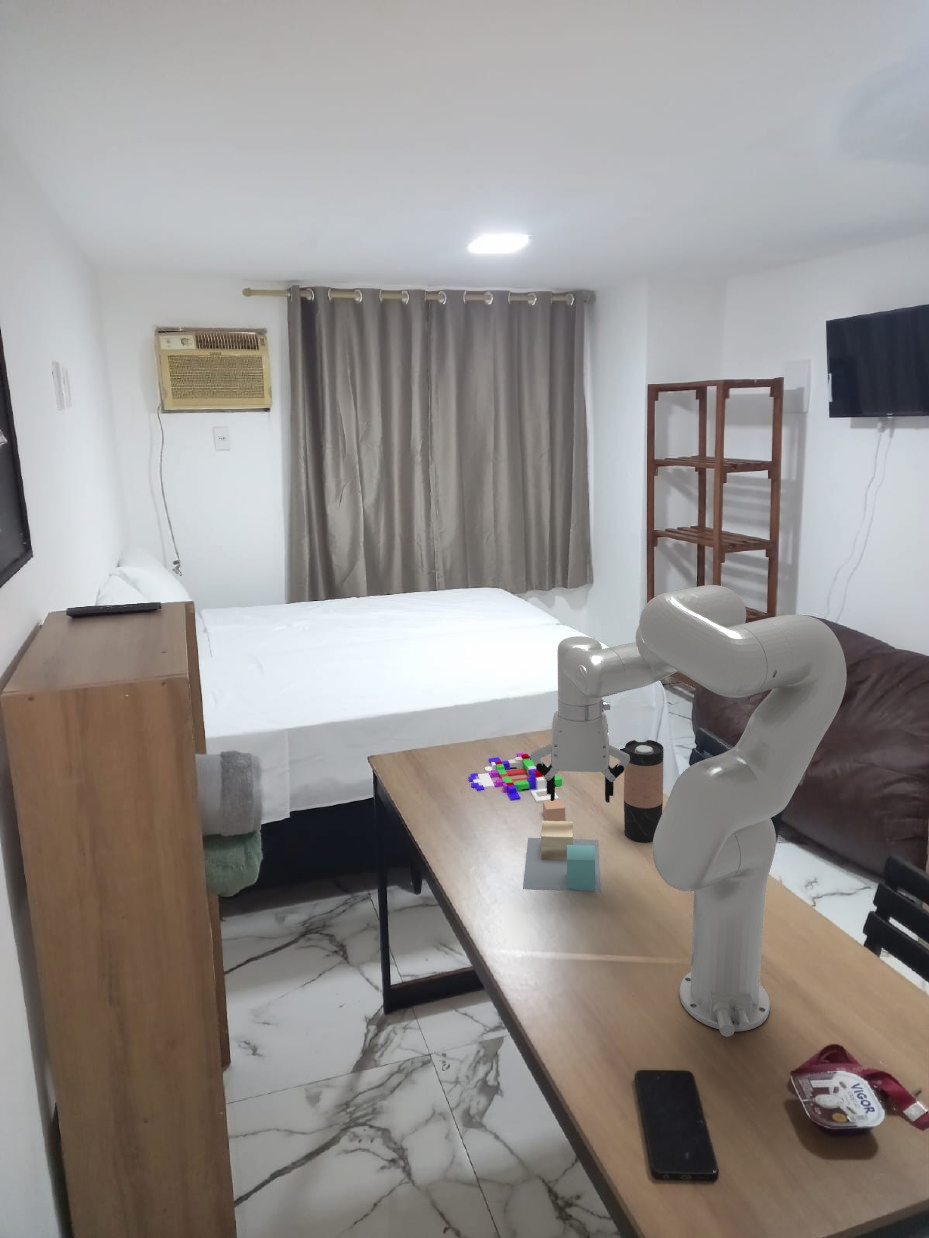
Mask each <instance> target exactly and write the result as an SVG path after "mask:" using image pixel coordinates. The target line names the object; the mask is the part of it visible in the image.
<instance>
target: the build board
mask: <svg viewBox="0 0 929 1238" xmlns="http://www.w3.org/2000/svg"><path fill="white" fill-rule="evenodd" d="M573 845H591V846H595V890H580V889H567V860H541V837H528V838H527V846H526V855H525V864H524V874H523V883H522V884H523V885H522V890H538V891H560V892H561V891H564V892H585V893H586V892H589V893H602V887H601V885H602V884H601V869H600V868H601V867H600V866H601V865H600V853H599V852H600V850H599V840H598V839H582V838H573Z"/></svg>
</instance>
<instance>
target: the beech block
mask: <svg viewBox="0 0 929 1238" xmlns="http://www.w3.org/2000/svg"><path fill="white" fill-rule="evenodd" d="M573 823H574V822H573V821H566V820H565V821H546V820H541V833H540V838H541V860H567V845H573V839H574V834H573V833H574V832H573V831H574V829H573Z"/></svg>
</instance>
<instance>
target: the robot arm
mask: <svg viewBox="0 0 929 1238" xmlns="http://www.w3.org/2000/svg"><path fill="white" fill-rule="evenodd" d="M746 621H747V608H746V606H745V603H744V601H743V599H742V598H741V597H740V595H739V594H737V592H735V591H734V590H732V589H730V588H728V587H726V586H722V585H719V584H718V585H717V584H716V585H715V584H707V585H700V586H695V587H689V588H684V589H679V590H674V591H669V592H664V593H661V594H659V595H656V596H654V597H653V598H651V599H650V600H649V601H648V602H647V603H646V604H645V606H644V608H643V609H642V611H641V613H640V617H639V623H638V624H639V625H638V626H637V629H636V631H635V641H634V642H633V641H632V642H630V643H625V644H619V645H615V646H609V647H606V648H603V647H602V645H601V642H599V640H597V639H596V638H593V637H590V636H582V635H578V636H570V637H566V638H564V639H562V640H561V641H560V642H559V643H558V646H557V711H555V712H554V713H553V718H552V723H551V735H550V737H551V738H550V743H549V744H547V745H545V746H543V747H540V748H538V749H537V750H534V751H532V752H530V755H529V756H530V758H531V760H532V762H533V763H534V765H535V767H536V769H537V770H538V771H539V772H540V773H541V774H542V775H543V776H544V777H545V779H546V780H547V788H546V789H547V793H546V795H551V801H554V800H555V793H556V785H555V776H556V775H557V774H558V772H574V773H579V772H580V773H600V772H601V773H602V774H603V775H604V800H605V802H606V803H607V804H609V803H611V802H610V798H611V797H614V794H615V793H614V790H615V789H614V788H615V787H614V785H615V784H614V783H615V781H616V779H617V778H618V777H619V776H621V774H623V773H624V769H625V767H626V766H627V765H628V763H629V761H630V755H629V754H627V753H625V751H623V750H620V749H619V748H617V747H615V746H612V745H610V738H609V736H610V735H609V726H608V725H609V724H608V718H607V715H606V712H605V711H610V710H611V701H609V702H608V701H604V699H602V698H605V697H608V696H613V695H617V694H619V693H624V692H627V691H633V690H637V689H640V688H644V687H647V686H650V685H653V684H655V683H656V682H659V681H662V680H664V679H665V678H668V677H670V676H673V674H675V673H677V672H678V673H681V674H682V675H684V676H686V677H688V678H689V679H691V680H692V681H694V682H696V683H697V684H699V685H700V686H702V687H704V688H705V689H707V690H708V691H710V692H712V693H714V694H717V695H719V696H723V697H726V698H745V697H748V696H752V695H753V696H754V695H756V694H759V693H763V692H767V691H770V690H771V691H770V692H769V693H768V694H767V695H766V697H765V698H764V699H763V700H762V701H761V702H760V704H758V706H757V707H756V708H755V710H754V711H753V712H752V714H751V716H750V717H749V719H748V721H747V724H746V726H745V729H744V731H743V733H742V734H741V736H740V739H739V740H738V742H737V743H736V745H734V747H732V748H730V749H729V750H727V751H724V752H722V753H720V754H718V755H715V756H712V757H708V758H705V759H703V760H699V761H698V762H694V764H692V765H690V766H689V767H687V768H686V769H684V770H683V772H682V773H681V774H680V775H679V776H678V777H677V779H676V781H675V783H674V785H673V787H672V789H671V790H670V791H671V792H670V793H669V796H668V798H667V801H666V803H665V806H664V808H663V809H662V815H661V818H660V820H659V823H658V825H657V828H656V831H655V834H654V838H653V842H652V858H653V863H654V866H655V869H656V870H657V871H656V872H657V873H658V874H659V876H660V878H661V879H662V880H663V881H664V883H666V884H667V885H669V887H672V888H673V889H676V890H677V891H681V892H693V904H692V905H693V906H692V907H693V909H692V931H691V932H692V936H691V937H692V938H691V962H690V965H691V966H690V967H691V968H690V971H689V972H688V973H685V975H684V976H683V978H682V979H681V981H680V984H679V999H680V1002H681V1004H682V1006H683V1007H684V1010H685V1011H686V1012H687V1013H689V1015H691V1016H692V1018H694V1019H695V1020H697V1021H699V1022H700V1023H702V1024H704V1025H706V1026H708V1027H711V1028H712V1029H713V1028H714V1029H717V1030H719V1032H720V1034H721V1036H723V1037H727V1038H728V1037H733V1035H734V1034H735V1032H744V1031H745V1032H746V1031H749V1030H753V1029H756V1028H757V1027H759V1026H761V1025H762V1024H764V1022H766V1020H767V1018H768V1017H769V1013H770V1008H771V1001H770V997H769V995H768V993H767V990H766V989H765V988H764V987H763V985H762V984H761V981H760V980H761V964H762V951H763V950H762V949H763V935H764V934H763V931H764V930H763V929H764V918H765V917H764V916H765V903H766V892H767V886H768V879H769V876H770V871H771V868H772V865H773V861H774V859H775V858H774V857H775V852H776V847H777V835H776V830H775V826H774V823H773V821H772V819H771V818H773V817H775V816H777V815H778V814H780V813H781V812H783V810H785V808H786V807H787V806H788V804H789V802H790V801H791V799H792V797H793V795H794V793H795V792H796V789H797V787H798V785H799V784H800V782H801V780H802V778H803V776H804V774H805V772H806V770H807V768H808V767H809V764H810V763H811V761H812V759H813V756H814V754H815V752H816V750H817V748H818V746H819V745H820V743H821V741H822V740H823V738H824V736H825V735H826V732H827V731H828V730H829V727H830V726H831V724H832V722H833V720H834V718H835V717H836V715H837V713H838V711H839V708H840V707H841V704H842V702H843V698H844V695H845V691H846V685H847V676H848V674H847V664H846V657H845V655H844V650H843V649H842V648H843V647H842V645H841V643H840V641H839V639H838V637H837V635H836V633H834V631H833V630H832V629H831V628H830V627H829V626H828V625H827V624H826V623H825V622H823V621H821V620H820V619H818V618H816V617H813V616H810V615H804V614H784V615H778V616H774V617H767V618H763V619H758V620H754V621H750V622H746ZM549 755H550V763H549V765H547V766H548V767H547V766H546V764H545V763H544V762H543V761H542V760H541V759H543V758H544V757H546V756H549ZM610 756H611V757H613V758H615V759H617V760H619V762H618V763H617V764H615V765H614V766H613V767H612V766H611V765H610Z"/></svg>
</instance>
